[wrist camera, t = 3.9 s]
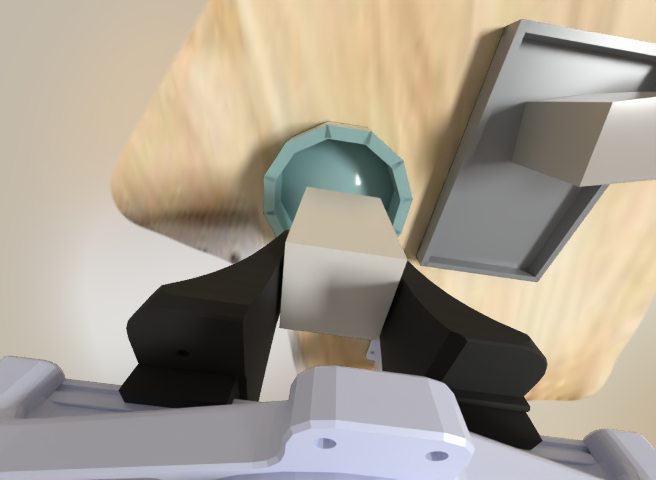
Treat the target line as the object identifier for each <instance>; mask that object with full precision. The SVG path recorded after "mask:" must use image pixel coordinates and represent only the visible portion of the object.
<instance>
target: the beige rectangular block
mask: <svg viewBox="0 0 656 480" xmlns="http://www.w3.org/2000/svg"><path fill="white" fill-rule="evenodd" d="M406 262H407V258H406V255H405V253H404V251H403V249H402V246H401V244H400V242H399V240H398V237H397V235H396V233H395V230H394V228H393V226H392V224H391V221H390V219H389V217H388V215H387V212H386V210H385V208H384V206H383V203H382V201H381V199H380V198H377V197H370V196H364V195H358V194H351V193H345V192H338V191H332V190H325V189H319V188H312V187H306V190H305V192H304V195H303V198H302V200H301V203H300V205H299V208H298V211H297V213H296V216H295V218H294V221H293V224H292V226H291V229H290V231H289V234H288V237H287V239H286V242H285V255H284V269H283V284H282V298H281V312H280V326H279V328H284V329H291V330H299V331H307V332H314V333H322V334H329V335H337V336H344V337H352V338H360V339H367V340H375V341H378V338H379V336H380V333H381V330H382V327H383V325H384V322H385V319H386V317H387V314H388V311H389V309H390V306H391V303H392V300H393V298H394V295H395V292H396V290H397V287H398V284H399V281H400V279H401V276H402V273H403V271H404V268H405V265H406Z"/></svg>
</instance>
